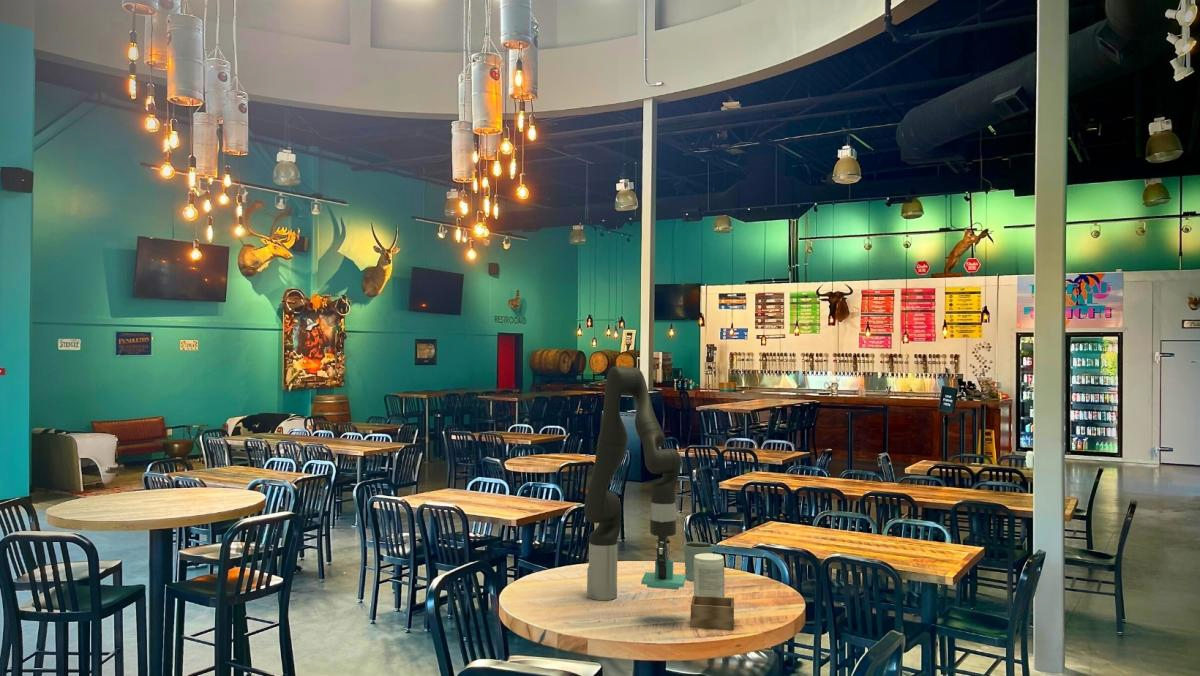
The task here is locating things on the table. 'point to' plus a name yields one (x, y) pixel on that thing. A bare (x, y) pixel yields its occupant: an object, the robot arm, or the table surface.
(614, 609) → the table surface
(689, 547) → the grey green pot
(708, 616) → the crate
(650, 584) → the lid
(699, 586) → the supplement tub
